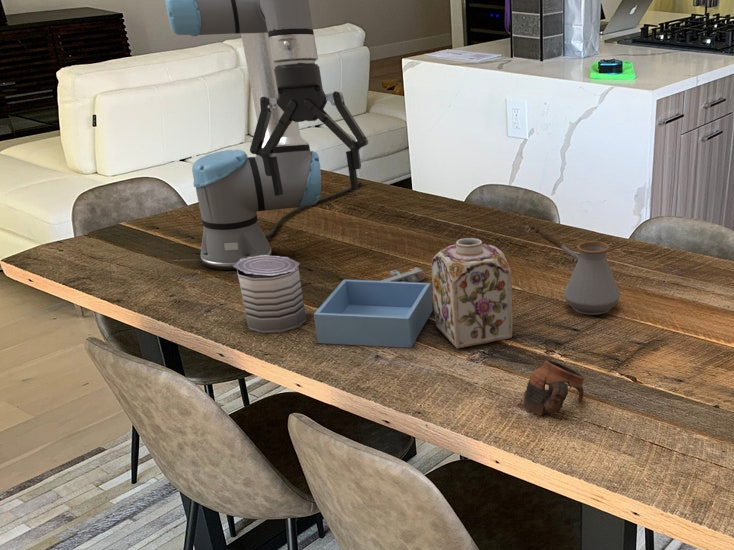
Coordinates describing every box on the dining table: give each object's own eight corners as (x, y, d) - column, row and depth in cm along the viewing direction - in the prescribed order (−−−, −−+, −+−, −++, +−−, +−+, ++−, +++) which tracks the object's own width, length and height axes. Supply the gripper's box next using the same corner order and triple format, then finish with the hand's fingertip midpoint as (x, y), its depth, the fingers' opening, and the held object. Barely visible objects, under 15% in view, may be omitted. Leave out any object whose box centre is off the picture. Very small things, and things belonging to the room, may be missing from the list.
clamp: (407, 263, 191) (436, 274, 185) (408, 272, 192) (437, 284, 187) (349, 280, 182) (378, 293, 176) (351, 290, 183) (379, 303, 177)
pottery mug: (513, 397, 144) (533, 352, 143) (564, 417, 147) (584, 373, 146) (525, 415, 133) (547, 366, 132) (580, 436, 136) (602, 389, 135)
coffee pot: (629, 304, 178) (633, 232, 171) (602, 323, 170) (605, 249, 162) (541, 283, 188) (541, 215, 180) (512, 301, 179) (510, 230, 171)
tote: (347, 306, 176) (343, 279, 173) (432, 310, 174) (430, 283, 172) (317, 343, 161) (313, 314, 158) (411, 347, 159) (408, 318, 156)
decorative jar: (455, 350, 158) (449, 255, 149) (433, 327, 167) (427, 236, 158) (515, 338, 163) (513, 245, 154) (491, 316, 172) (487, 227, 163)
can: (252, 310, 173) (241, 252, 167) (311, 308, 174) (302, 251, 168) (240, 334, 163) (228, 273, 157) (302, 332, 165) (292, 272, 158)
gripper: (215, 68, 145) (240, 199, 152) (365, 57, 145) (383, 188, 152) (229, 70, 152) (253, 195, 159) (372, 59, 152) (389, 184, 159)
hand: (317, 192), depth 156 cm, fingers open, 13 cm apart
